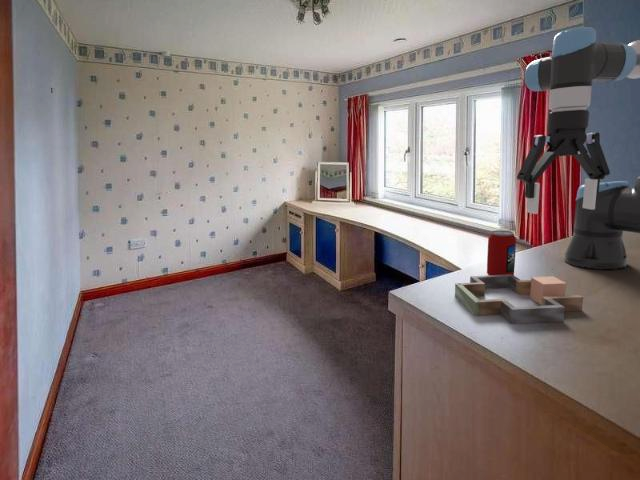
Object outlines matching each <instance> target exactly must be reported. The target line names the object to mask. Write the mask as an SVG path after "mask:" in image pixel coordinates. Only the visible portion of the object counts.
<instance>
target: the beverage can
mask: <svg viewBox="0 0 640 480" xmlns="http://www.w3.org/2000/svg"><path fill="white" fill-rule="evenodd" d="M487 240H488V241H487V257H486V258H487V261H486V274H487V276H488V275H509V274H512V275H514V276H515V267H516V266H515V265H516V264H515V263H516V252H517V251H516V249H517V238H516V236H515V234H514V231H510V230H502V229H500V230H492V231H491V233H490V235H489V236H488V239H487Z"/></svg>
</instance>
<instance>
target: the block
mask: <svg viewBox="0 0 640 480" xmlns="http://www.w3.org/2000/svg"><path fill="white" fill-rule="evenodd" d="M530 280H531V290H530V294H529V299H530V300H533V301H534V302H535V303H537V304H538V305H539V306H541V305H542V297H550V296H566V288H567V282H565V281H563V280H561V279H559V278H557V277H555V276H553V275H551V276H549V275H548V276H531V278H530Z"/></svg>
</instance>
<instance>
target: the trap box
mask: <svg viewBox="0 0 640 480" xmlns="http://www.w3.org/2000/svg"><path fill="white" fill-rule="evenodd" d="M469 278H470V279H469V282H459V283H455V285H454V296H455V297H456V298H457V299H458V300H459V302H460V303H462V304H463V305H464V307H466V309H468V311H469V312H470V313H472V314H473V315H474V316H475V317H480V316H498V315H501V316H502V317H503V318H504V319H506V321H508V323H510V324H511V325H514V324H515V325H517V324H534V323H535V324H536V323H537V324H538V323H554V322H557V323H558V322H564V320H565V319H564V317H565V312H580V311H581V312H582V311H583V302H584V296H582V295H580V294H575V295H573V294H572V295H571V294H570V295H565V296H550V297H542V305H534V306H529V305H528V306H515V305H514V304H512V303H511V302H509V301H508V300H507V299H506V298H494V299H493V298H492V299H479V298H477V297H485V293H486V289H488V290H489V289H508V288H509V289H510V290H511V291H513V292H515V293H516V294H517V295H527V294H528V295H530V290H531V279H520V278H519V277H517V276H515V274H514V275H512V274H509V275H488V274H487V275H471V276H470V277H469Z"/></svg>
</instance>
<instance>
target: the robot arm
mask: <svg viewBox="0 0 640 480" xmlns="http://www.w3.org/2000/svg"><path fill="white" fill-rule="evenodd" d="M597 40H598V39H597V32H596V29H595V28H593V27H590V26H583V27H575V28H569V29H565V30H562V31H559V32H558V33H557V34H556V35H555V36H554V39H553V43H552V50H551V55H550V56H547V57H541V58H539V59H535V60H533V61H531V62H530V63H529V64H528V65H527V67H526V68H525V72H524V83H525V86H526V88H527V89H529V90H530V91H532V92H545V91H548V90H549V94H548V96H549V97H548V110H549V111H550V112H548V114H547V122H546V123H547V124H546V129H547V130H548V133H547V135H544V134H537V135H534V136H533V137H532V143H531V144H532V145H531V146H530V149H529V151H528V154H527V156H526V158H525V160H523V163H522V165H521V167H520V170H519V172H518V174H517V176H516V179H517V180H519V181H522V182H523V183H524V184H525V185H524V186H525V187H524V196H525V198H527V203H526V204H527V205H526V212H527V213H528V214H534V215H537V214H539V204H540V203H539V201H540V188H541V186H540V185H541V183H540V182H538V180H539V178H541V176H542V175H543V174H544V172H546V170H547V169H548V168H549V166H550V165H551V164H552V163H553V162H554V160H555V159H557V158H558V157H564V156H573V157H574V159H575V160H576V161H577V162H578V164H579V166H581V168H582V169H583V171H584V172H585V173H586V175H587V177H588V178H585V179H584V184H581V185H580V186H579V187H578V190H577V194H576V198H575V211H574V212H575V213H574V223H573V234H572V237H571V239H570V241H569V244H568V245H567V248H566V250H565V252H564V259H563V260H565V261H566V262H565V261H564V262H565V263H567V264H569V265H573V266H575V267H579V266H580V267H581V268H584V267H586V268H585V269H591V268H593V269H592V270H603V269H613V270H619V269H618V268H622V267H625V266H626V265H627V266H628V255H627V251H626V247H625V245H624V240H623V235H624V234H623V233H624V232H627V233H632V234H640V176H638V177H637V179H636V182H635V184H634V186H633V187H632V186H630V183H629V182H628V181H627V180H618V181H607V182H603V181H602V182H601V180H604V179H605V178H606V176H609V175H610V173H611V171H610V169H609V165H608V163H607V159H606V156H605V154H604V150H603V147H602V146H601V138H600V136H601V134H600V132H597V131H596V132H587V133H586V130H587V128H588V127H589V121H590V111H589V110H588V109H587V108H590V106H591V97H592V84H593V83H594V84H595V83H599V82H605V83H611V82H618V81H621V80H623V79H625V78H628V79H632V80H633V79H634V80H635V79H640V39H638V40H634V41H632V42H630V43H629V44H627V43H626V44H625V43H622V42H600V41H597ZM584 144H586V145H584ZM546 145H547V146H548V147H546ZM545 147H546V149H545V150H544V148H545ZM627 266H626V267H627ZM626 267H625V268H626ZM622 269H623V268H622Z"/></svg>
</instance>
